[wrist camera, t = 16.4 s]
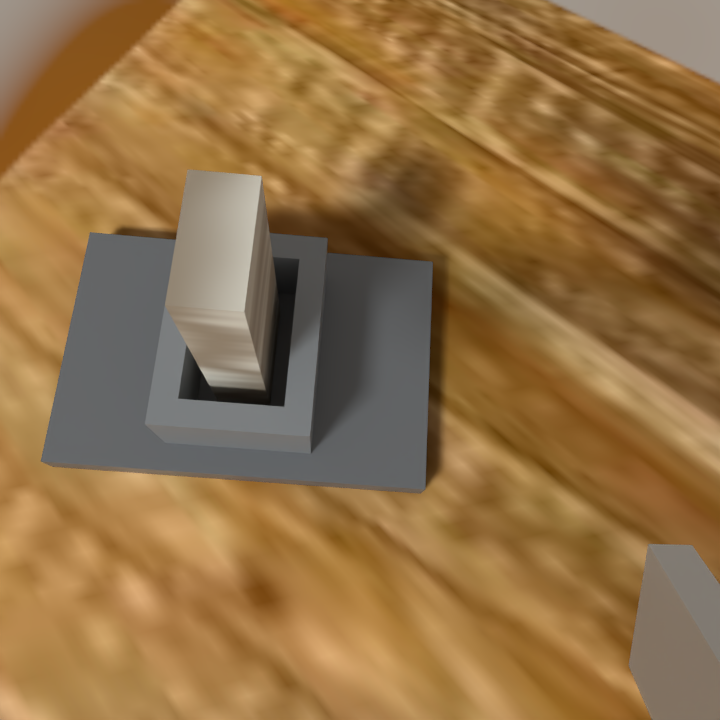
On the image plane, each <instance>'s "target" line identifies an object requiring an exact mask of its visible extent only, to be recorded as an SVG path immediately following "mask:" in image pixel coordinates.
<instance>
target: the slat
mask: <svg viewBox="0 0 720 720" xmlns="http://www.w3.org/2000/svg"><path fill="white" fill-rule="evenodd" d="M165 307H166V308H167V310H168V312H169V314H170V316H171V317H172V319H173V321H174V323H175V325H176V326H177V328H178V330H179V332H180V334H181V335H182V337H183V339H184V341H185V343H186V344H187V346H188V348H189V350H190V352H191V353H192V355H193V357H194V359H195V361H196V362H197V364H198V366H199V368H200V370H201V371H202V373H203V375H204V377H205V379H206V380H207V382H208V384H209V386H210V388H211V389H212V391H213V393H214V395H215V397H216V398H217V400H218V402H231V403H244V404H257V405H270V400H271V391H272V381H273V372H274V363H275V354H276V345H277V336H278V327H279V318H280V305H279V298H278V291H277V283H276V276H275V269H274V262H273V254H272V247H271V240H270V233H269V226H268V218H267V211H266V204H265V197H264V190H263V182H262V176H255V175H244V174H233V173H221V172H210V171H199V170H188V171H187V177H186V183H185V189H184V195H183V201H182V207H181V213H180V219H179V224H178V230H177V236H176V242H175V248H174V254H173V260H172V266H171V272H170V278H169V284H168V289H167V295H166V301H165Z"/></svg>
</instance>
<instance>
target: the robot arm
mask: <svg viewBox="0 0 720 720" xmlns="http://www.w3.org/2000/svg"><path fill="white" fill-rule="evenodd" d="M629 667H630V670H631V672H632V674H633V677H634V679H635V681H636V684H637V686H638V688H639V691H640V693H641V695H642V698H643V700H644V702H645V705H646V707H647V709H648V712H649V714H650V716H651V719H652V720H720V584H719V583H718V582H717V580H716V579H715V577H714V576H713V574H712V573H711V572H710V570H709V569H708V567H707V566H706V564H705V563H704V562H703V560H702V559H701V557H700V556H699V554H698V553H697V552H696V550H695V549H694V547H693V546H692V545H663V544H648V549H647V555H646V562H645V568H644V574H643V580H642V586H641V593H640V599H639V605H638V611H637V617H636V624H635V630H634V636H633V642H632V648H631V655H630V661H629Z"/></svg>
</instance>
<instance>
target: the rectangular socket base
mask: <svg viewBox="0 0 720 720" xmlns="http://www.w3.org/2000/svg"><path fill="white" fill-rule="evenodd" d="M270 240H271V247H272V254H273V262H274V269H275V276H276V283H277V291H278V298H279V305H280V318H279V327H278V336H277V345H276V354H275V363H274V372H273V381H272V391H271V400H270V405H257V404H244V403H231V402H218V400H217V398H216V397H215V395H214V393H213V391H212V389H211V388H210V386H209V384H208V382H207V380H206V379H205V377H204V375H203V373H202V371H201V370H200V368H199V366H198V364H197V362H196V361H195V359H194V357H193V355H192V353H191V352H190V350H189V348H188V346H187V344H186V343H185V341H184V339H183V337H182V335H181V334H180V332H179V330H178V328H177V326H176V325H175V323H174V321H173V319H172V317H171V316H170V314H169V312H168V310H167V308H166V307H165V301H166V295H167V289H168V284H169V278H170V272H171V266H172V260H173V254H174V248H175V242H176V240H173V239H161V238H149V237H138V236H126V235H114V234H103V233H91V232H90V235H89V240H88V245H87V249H86V254H85V258H84V263H83V268H82V272H81V277H80V282H79V286H78V291H77V296H76V300H75V305H74V310H73V314H72V319H71V324H70V328H69V333H68V337H67V342H66V347H65V351H64V356H63V361H62V365H61V370H60V375H59V379H58V384H57V389H56V393H55V398H54V403H53V407H52V412H51V416H50V421H49V426H48V430H47V435H46V440H45V444H44V449H43V454H42V458H41V462H43V463H45V464H48V465H50V466H52V467H64V468H78V469H92V470H105V471H119V472H133V473H147V474H161V475H174V476H188V477H202V478H216V479H229V480H243V481H257V482H271V483H284V484H298V485H312V486H326V487H339V488H353V489H367V490H381V491H395V492H408V493H422V492H423V491H424V490H425V485H426V455H427V424H428V394H429V363H430V333H431V303H432V272H433V262H430V261H418V260H407V259H395V258H383V257H371V256H360V255H348V254H336V253H327V243H328V238H321V237H310V236H298V235H287V234H275V233H270Z"/></svg>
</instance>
